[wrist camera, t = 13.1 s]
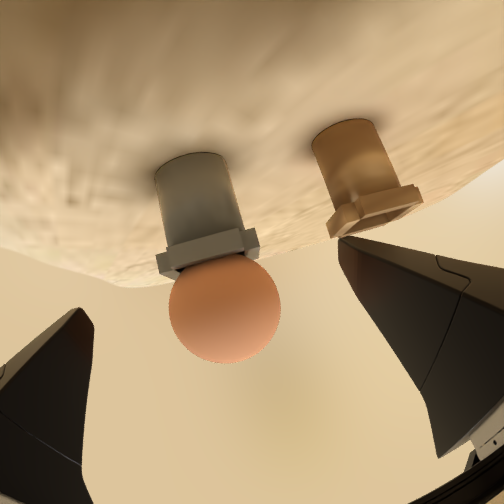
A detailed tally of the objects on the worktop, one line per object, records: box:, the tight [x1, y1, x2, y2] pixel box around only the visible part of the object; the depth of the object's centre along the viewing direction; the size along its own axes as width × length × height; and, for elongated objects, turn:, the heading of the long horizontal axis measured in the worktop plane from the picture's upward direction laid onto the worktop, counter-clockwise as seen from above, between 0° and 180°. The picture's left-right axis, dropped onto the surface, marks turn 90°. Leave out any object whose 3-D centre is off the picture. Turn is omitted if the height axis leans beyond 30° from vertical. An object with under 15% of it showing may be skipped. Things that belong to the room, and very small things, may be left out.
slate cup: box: [155, 153, 260, 281], centre depth 18 cm, size 5×5×6 cm
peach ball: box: [169, 253, 281, 363], centre depth 17 cm, size 6×6×6 cm
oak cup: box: [312, 119, 424, 238], centre depth 18 cm, size 5×5×6 cm
